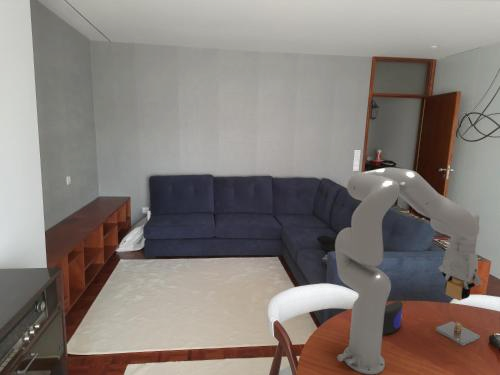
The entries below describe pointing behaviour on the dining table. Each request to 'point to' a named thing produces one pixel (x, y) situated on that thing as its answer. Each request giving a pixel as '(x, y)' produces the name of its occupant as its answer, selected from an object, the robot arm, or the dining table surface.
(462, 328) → the plate
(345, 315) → the dining table surface
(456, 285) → the cube with dome knob
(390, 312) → the grey blue curved piece
